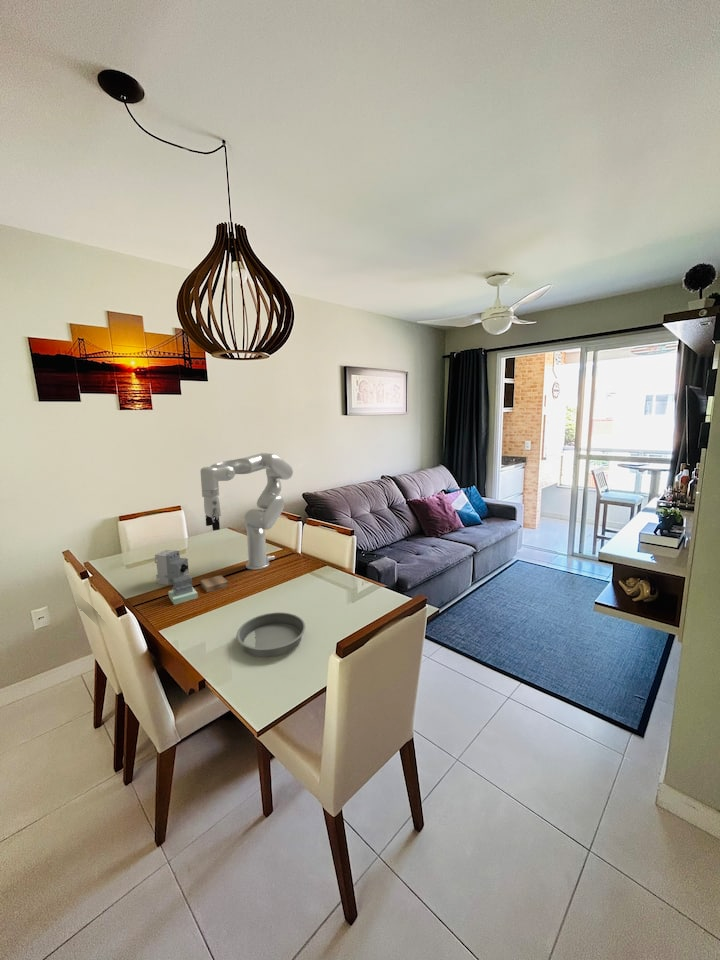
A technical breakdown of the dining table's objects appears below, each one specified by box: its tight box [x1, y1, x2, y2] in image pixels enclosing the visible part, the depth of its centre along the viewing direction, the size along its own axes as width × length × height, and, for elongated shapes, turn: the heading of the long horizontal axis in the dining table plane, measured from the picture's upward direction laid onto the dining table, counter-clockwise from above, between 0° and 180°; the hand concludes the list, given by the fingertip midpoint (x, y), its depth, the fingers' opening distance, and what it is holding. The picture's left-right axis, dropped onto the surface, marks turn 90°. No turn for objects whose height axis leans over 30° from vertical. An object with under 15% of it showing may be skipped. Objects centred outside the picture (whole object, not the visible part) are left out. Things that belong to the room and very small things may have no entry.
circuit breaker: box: [154, 549, 190, 586], centre depth 187 cm, size 8×14×15 cm, turn 78°
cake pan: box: [236, 612, 306, 659], centre depth 140 cm, size 25×25×4 cm
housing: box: [172, 574, 193, 596], centre depth 172 cm, size 7×5×7 cm
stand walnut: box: [200, 574, 229, 593], centre depth 184 cm, size 10×10×2 cm
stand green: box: [168, 586, 199, 605], centre depth 172 cm, size 10×10×2 cm
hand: (212, 527), depth 183 cm, fingers open, 9 cm apart
